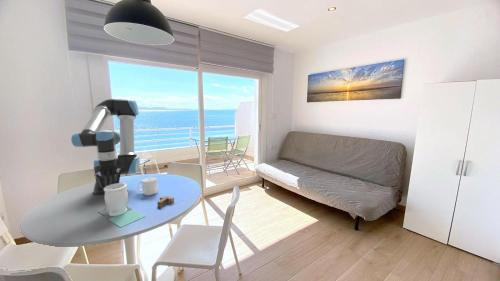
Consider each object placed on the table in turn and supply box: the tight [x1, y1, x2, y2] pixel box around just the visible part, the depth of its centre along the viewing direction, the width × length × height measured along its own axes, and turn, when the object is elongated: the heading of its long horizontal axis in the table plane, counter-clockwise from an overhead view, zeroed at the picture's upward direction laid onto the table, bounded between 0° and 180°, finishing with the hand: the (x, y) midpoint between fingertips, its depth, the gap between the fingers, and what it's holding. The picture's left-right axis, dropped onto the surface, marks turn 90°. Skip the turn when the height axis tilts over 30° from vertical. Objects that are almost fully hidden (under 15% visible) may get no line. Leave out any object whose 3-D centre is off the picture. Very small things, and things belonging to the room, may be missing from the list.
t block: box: [156, 195, 175, 208], centre depth 120 cm, size 8×8×3 cm
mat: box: [98, 205, 146, 228], centre depth 108 cm, size 26×12×1 cm, turn 56°
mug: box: [137, 176, 159, 196], centre depth 136 cm, size 12×9×9 cm
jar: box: [104, 182, 129, 216], centre depth 109 cm, size 11×10×15 cm
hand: (111, 200), depth 113 cm, fingers closed
